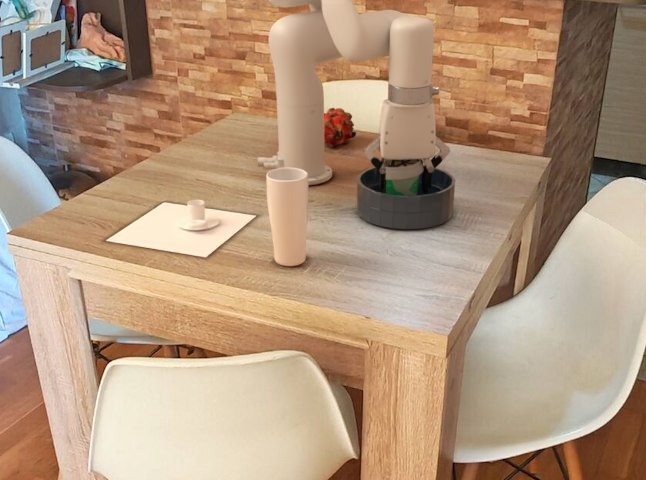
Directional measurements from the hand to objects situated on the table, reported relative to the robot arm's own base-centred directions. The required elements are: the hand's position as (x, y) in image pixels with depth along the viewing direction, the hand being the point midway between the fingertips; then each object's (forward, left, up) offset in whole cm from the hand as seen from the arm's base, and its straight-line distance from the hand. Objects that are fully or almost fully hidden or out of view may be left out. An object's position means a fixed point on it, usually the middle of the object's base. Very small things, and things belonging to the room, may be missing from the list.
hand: (404, 190), depth 154 cm
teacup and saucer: (-41, -4, -4) cm, 42 cm away
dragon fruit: (-9, +44, -4) cm, 45 cm away
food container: (0, 0, -4) cm, 4 cm away
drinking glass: (-22, -20, -4) cm, 30 cm away
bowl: (0, 0, -4) cm, 4 cm away
